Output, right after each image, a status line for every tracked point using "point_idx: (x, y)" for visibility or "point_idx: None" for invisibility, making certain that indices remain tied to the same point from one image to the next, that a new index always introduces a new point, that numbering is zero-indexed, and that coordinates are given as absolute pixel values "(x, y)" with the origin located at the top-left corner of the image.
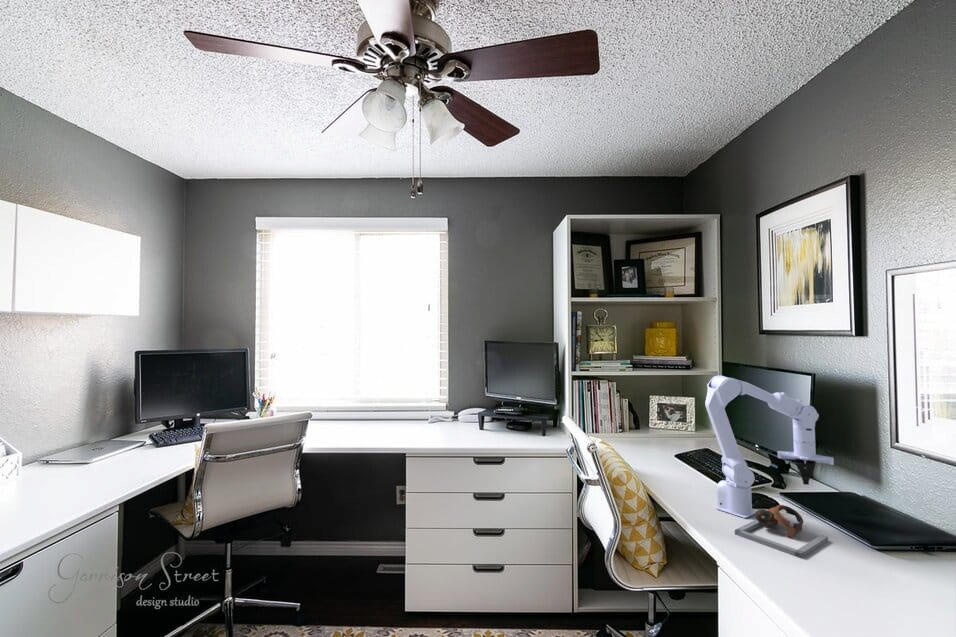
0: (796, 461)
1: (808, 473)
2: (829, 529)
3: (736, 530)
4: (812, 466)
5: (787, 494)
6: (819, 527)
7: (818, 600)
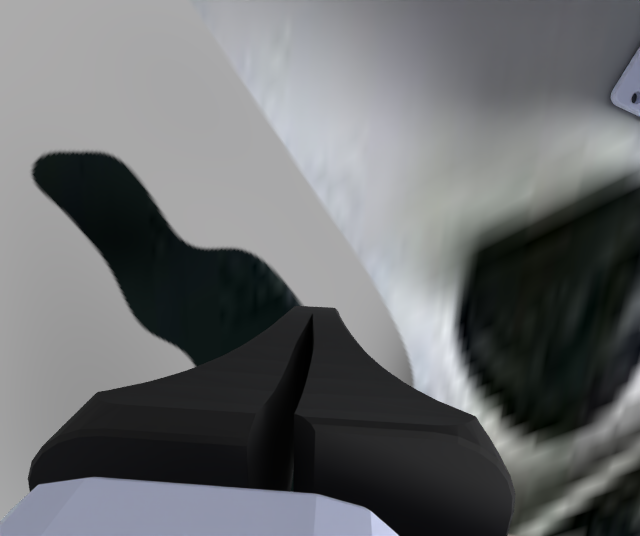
0: None
1: (261, 353)
2: (221, 35)
3: None
4: (120, 401)
5: None
6: (270, 38)
7: None
